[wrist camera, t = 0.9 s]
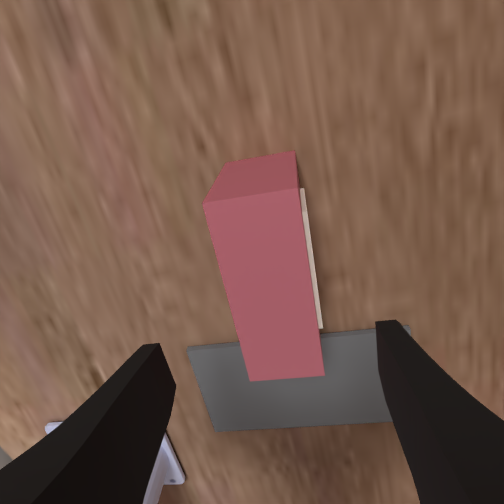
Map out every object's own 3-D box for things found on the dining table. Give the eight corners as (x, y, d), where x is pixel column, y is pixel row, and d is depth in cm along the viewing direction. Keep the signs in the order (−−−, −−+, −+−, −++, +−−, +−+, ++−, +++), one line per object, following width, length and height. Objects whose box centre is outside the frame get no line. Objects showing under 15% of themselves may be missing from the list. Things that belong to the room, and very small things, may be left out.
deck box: (258, 306, 23) (249, 381, 18) (226, 162, 19) (202, 203, 14) (319, 299, 22) (329, 375, 17) (298, 149, 18) (303, 187, 13)
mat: (216, 427, 28) (215, 431, 28) (187, 346, 25) (186, 350, 24) (409, 415, 26) (410, 420, 26) (408, 325, 22) (410, 329, 22)
